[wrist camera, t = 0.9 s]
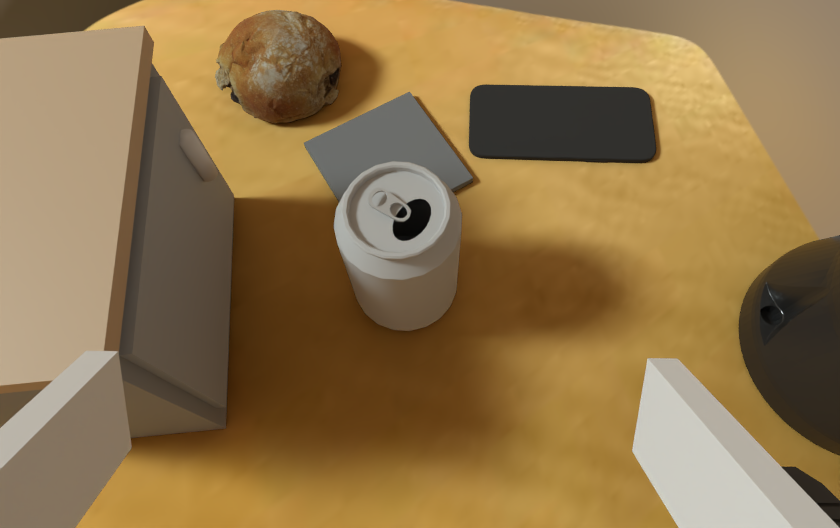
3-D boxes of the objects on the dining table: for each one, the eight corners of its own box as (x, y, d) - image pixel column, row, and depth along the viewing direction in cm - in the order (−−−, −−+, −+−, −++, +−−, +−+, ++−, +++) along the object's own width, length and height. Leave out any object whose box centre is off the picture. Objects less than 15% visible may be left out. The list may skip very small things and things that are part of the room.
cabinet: (253, 190, 48) (162, 24, 32) (248, 433, 40) (125, 373, 24) (77, 207, 47) (-101, 47, 32) (38, 455, 40) (-224, 407, 24)
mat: (409, 96, 51) (409, 91, 50) (472, 181, 47) (473, 177, 47) (305, 147, 49) (303, 142, 49) (362, 240, 45) (361, 236, 45)
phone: (470, 83, 51) (648, 86, 50) (470, 89, 52) (645, 93, 51) (468, 156, 48) (658, 160, 47) (468, 161, 49) (654, 166, 48)
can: (423, 353, 42) (419, 292, 31) (335, 303, 43) (302, 227, 33) (475, 269, 44) (487, 184, 33) (390, 224, 46) (375, 129, 35)
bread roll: (314, 156, 53) (340, 109, 46) (197, 114, 50) (206, 55, 43) (337, 71, 57) (364, 15, 50) (230, 26, 54) (243, -41, 47)
